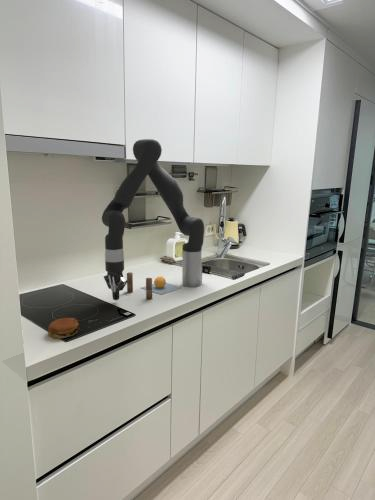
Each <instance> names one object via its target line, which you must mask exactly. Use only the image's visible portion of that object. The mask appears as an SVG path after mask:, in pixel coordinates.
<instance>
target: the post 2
mask: <svg viewBox="0 0 375 500" xmlns="http://www.w3.org/2000/svg"><path fill="white" fill-rule="evenodd" d="M152 284H153V278H152V277H145V286H146V290H145V299H146V300H147V301H149V300H153V292H152Z"/></svg>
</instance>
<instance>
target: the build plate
mask: <svg viewBox="0 0 375 500" xmlns="http://www.w3.org/2000/svg"><path fill="white" fill-rule="evenodd" d="M211 270H212V267H211V265H210V264H209V265H208V264H202V274H206V275H211V274H210V273H209V272H210V271H211ZM211 272H212V271H211Z"/></svg>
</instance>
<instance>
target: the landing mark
mask: <svg viewBox="0 0 375 500" xmlns="http://www.w3.org/2000/svg"><path fill="white" fill-rule="evenodd" d="M182 288H183V286H178V285H176V284H172V283H169V282H166V284H165V286H164V287H163V288H157V287H156V286H155V285H154V283H152V293H154V294H158V295H161V296H162V295H165V294H168V293H171V292H174V291H177V290H179V289H182ZM140 289H142V290H145V291H146V285H145V286H142V287H140Z"/></svg>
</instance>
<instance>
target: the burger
mask: <svg viewBox="0 0 375 500" xmlns="http://www.w3.org/2000/svg"><path fill="white" fill-rule="evenodd" d="M80 329H81V327H80V324H79V322H78V320H77V319H76V318H74V317H62V318H59V319H55V320H53V321H51V322H50V324H49V325H48V329H47V330H48V336H49V338H51V339H55V340H59V339H65V338H68V337H72V336H75V334H77V333H78V332H79V330H80Z"/></svg>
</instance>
